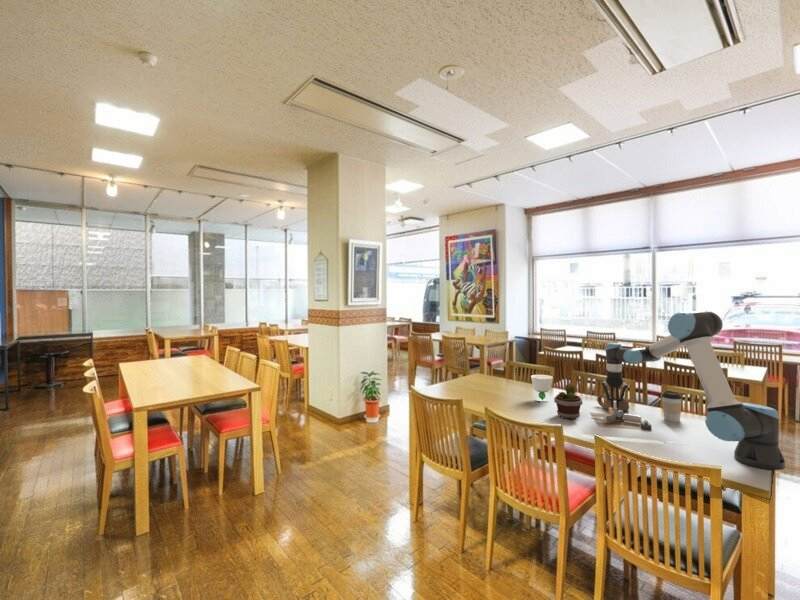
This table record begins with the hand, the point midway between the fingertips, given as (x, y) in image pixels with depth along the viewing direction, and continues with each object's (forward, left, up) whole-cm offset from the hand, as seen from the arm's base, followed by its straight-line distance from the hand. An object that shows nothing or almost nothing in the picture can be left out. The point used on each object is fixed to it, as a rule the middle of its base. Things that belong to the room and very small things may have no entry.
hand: (615, 413), depth 210 cm
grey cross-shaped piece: (-6, +1, -2) cm, 6 cm away
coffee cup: (+5, -29, -3) cm, 29 cm away
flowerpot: (-2, +24, -3) cm, 25 cm away
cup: (+30, +36, -3) cm, 47 cm away
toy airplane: (-8, 0, -3) cm, 9 cm away
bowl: (+15, -2, -3) cm, 15 cm away
